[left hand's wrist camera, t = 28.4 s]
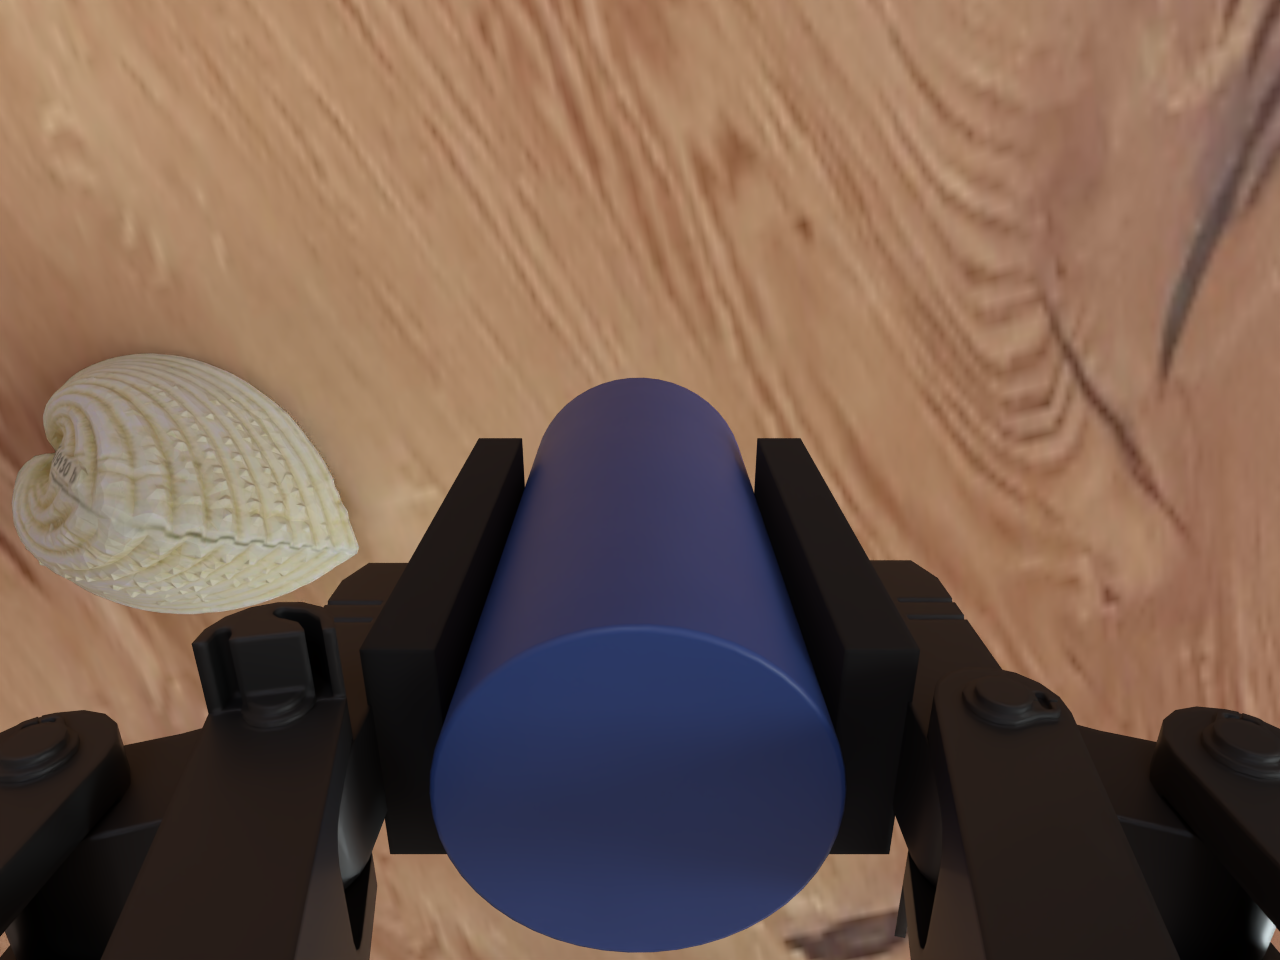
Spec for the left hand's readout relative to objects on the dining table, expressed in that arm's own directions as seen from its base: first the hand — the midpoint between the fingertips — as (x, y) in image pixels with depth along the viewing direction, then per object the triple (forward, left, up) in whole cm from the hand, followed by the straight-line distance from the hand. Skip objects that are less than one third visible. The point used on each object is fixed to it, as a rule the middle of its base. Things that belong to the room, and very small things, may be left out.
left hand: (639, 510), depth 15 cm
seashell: (-14, +6, -12) cm, 19 cm away
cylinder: (0, 0, -2) cm, 2 cm away
